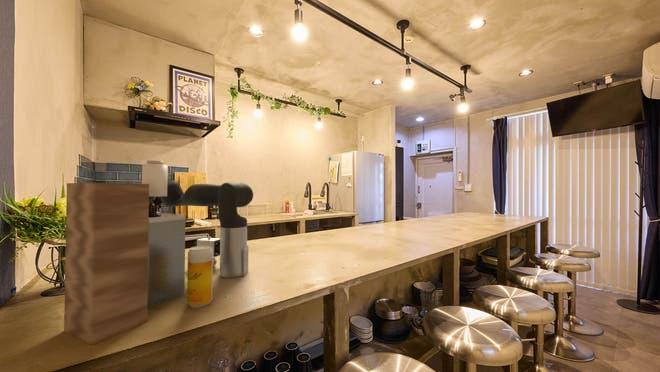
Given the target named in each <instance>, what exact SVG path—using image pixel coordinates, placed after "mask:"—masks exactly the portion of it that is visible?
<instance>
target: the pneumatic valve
mask: <svg viewBox="0 0 660 372" xmlns="http://www.w3.org/2000/svg"><path fill="white" fill-rule="evenodd" d="M195 246H211V248H212V250H213V267H215V266H216V265H217V262H218V261H217V257H220V237H219V238H218V237H217V238H215V237H211V236H210V235H209V236H208V237H202V238H197V239H195V242H193V243H192V247H195Z"/></svg>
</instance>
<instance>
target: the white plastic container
mask: <svg viewBox="0 0 660 372" xmlns="http://www.w3.org/2000/svg"><path fill="white" fill-rule="evenodd" d="M141 166H142V167H141V169H142V170H141V184H149V196H156V197H159V196H167V181H169V180H168V179H169V178H168V176H169V174H168V173H169V172H168V171H169V170H168V169H169V165H168V164H165V162H164V161H163V160H152V159H151V160H146V163H142V164H141Z"/></svg>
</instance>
